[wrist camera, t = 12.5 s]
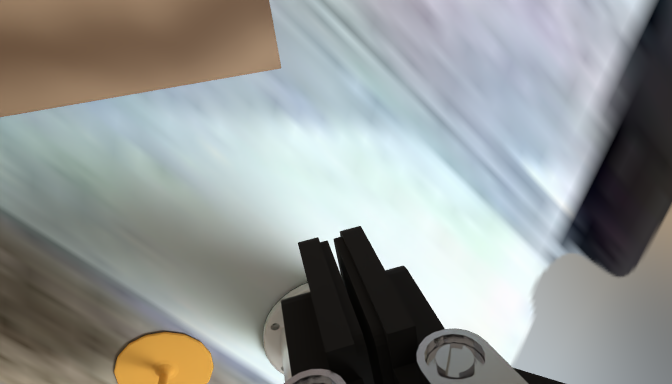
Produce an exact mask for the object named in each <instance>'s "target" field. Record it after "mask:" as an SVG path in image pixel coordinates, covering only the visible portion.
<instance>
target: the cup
mask: <svg viewBox="0 0 672 384" xmlns="http://www.w3.org/2000/svg"><path fill="white" fill-rule="evenodd" d="M213 367H214V366H213V362H212V357H211V353H210V352H209V351H208V350H207V349H206V347H205V346H204V345H203V344H202V343H201V342H200V341H198V340H196V339H194V338H192V337H190V336H187V335H185V334H179V333H171V332H161V333H155V334H149V335H145V336H143V337H141V338H139V339H137V340H135V341H133V342H131V343H129V344H128V345H127V346H126V347H125V348H124V350H123V351H122V352H121V353H120V354H119V355H118V357H117V361H116V365H115V369H114V373H115V376H116V379H117V382H118V384H207V383H208V381H209V380H210V377H211V374H212V371H213Z"/></svg>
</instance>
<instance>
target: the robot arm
mask: <svg viewBox="0 0 672 384" xmlns="http://www.w3.org/2000/svg"><path fill="white" fill-rule="evenodd" d="M340 236H341V237H339V238H335V239H334V244H335V249H336V253H337V258H338V263H339V267H340V272H341V275H340V272H339V270H338V267H337V264H336V262H335V259H334V256H333V254H332V251H331V248H330V246H329V243H328V241H324V242H320V241H319V239H318V237H317V238H314V239H310V240H306V241H302V242H299V243H298V245H299V249H300V253H301V257H302V261H303V265H304V269H305V273H306V277H307V281H308V283H306V284H303V285H301V286H299V287H297V288H295V289H294V290H292V291H290V292H289V293H288V294H286V295H285V296H284V297H283V298H281V299H280V300H279V302H278V303H277V304H276V305H275V306H274V307H273V309H272V310H271V312H270V314H269V315H268V317H267V320H266V323H265V325H264V332H263V340H264V349H265V352H266V356H267V358H268V359H269V361H270V363H271V364H272V365H273V366H274V367H275V368H276V369H277V370H278V371H279V372H281V373H282V374H284V377H285V383H284V384H565V383H562V382H558V381H555V380H552V379H548V378H545V377H542V376H539V375H535V374H532V373H528V372H525V371H522V370H519V369H516V368H512V367H511V366H510V365H509V364H508V363H507V362H506V361H505V360H504V359H503V358H502V357H501V356H500V355H499V354H498V353H497V352H496V351H495V350H494V349H493V348H492V347H491V346H490V345H489V344H488V343H487V342H486V341H485V340H484V339H483V338H481V337H480V336H479V335H477V334H475V333H472V332H470V331H467V330H462V329H444V327H443V325H442V324H441V322H440V321H439V319H438V318H437V316H436V314H435V313H434V311H433V310H432V308H431V306H430V305H429V303H428V302H427V300H426V299H425V297H424V295H423V294H422V292H421V291H420V289H419V287H418V286H417V284H416V283H415V281H414V280H413V278H412V276H411V275H410V273H409V272H408V270H407V269H406V267H405V266H400V267H396V268H393V269H389V270H386V271H385V270H384V268H383V266H382V264H381V262H380V260H379V259H378V257H377V255H376V253H375V251H374V249H373V248H372V246H371V244H370V242H369V240H368V239H367V237H366V235H365V233H364V231H363V229H362V228H361V226H358V227H355V228H351V229H347V230H343V231H340ZM341 276H342V277H341Z"/></svg>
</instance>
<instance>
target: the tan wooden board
mask: <svg viewBox="0 0 672 384" xmlns="http://www.w3.org/2000/svg"><path fill="white" fill-rule="evenodd" d="M280 68H281V64H280V58H279V53H278V47H277V42H276V36H275V31H274V25H273V20H272V14H271V9H270V4H269V0H0V117H4V116H10V115H16V114H21V113H27V112H33V111H38V110H44V109H50V108H56V107H61V106H67V105H73V104H79V103H84V102H90V101H96V100H102V99H107V98H113V97H119V96H125V95H130V94H136V93H142V92H148V91H153V90H159V89H165V88H171V87H176V86H182V85H188V84H194V83H199V82H205V81H211V80H217V79H222V78H228V77H234V76H239V75H245V74H251V73H257V72H262V71H268V70H274V69H280Z"/></svg>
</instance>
